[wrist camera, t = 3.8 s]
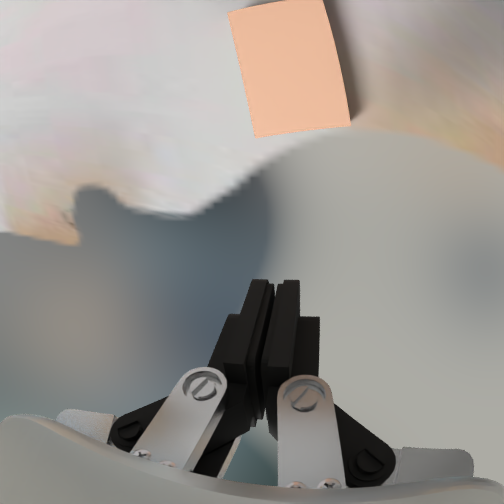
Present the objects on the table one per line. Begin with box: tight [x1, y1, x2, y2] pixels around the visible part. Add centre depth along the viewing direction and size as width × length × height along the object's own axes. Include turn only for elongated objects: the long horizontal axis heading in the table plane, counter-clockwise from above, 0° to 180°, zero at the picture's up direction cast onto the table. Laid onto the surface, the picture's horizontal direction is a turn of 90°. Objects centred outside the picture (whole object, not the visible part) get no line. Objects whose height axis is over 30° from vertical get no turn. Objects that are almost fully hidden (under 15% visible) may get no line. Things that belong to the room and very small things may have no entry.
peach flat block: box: [227, 0, 351, 138], centre depth 21 cm, size 8×12×3 cm, turn 12°
